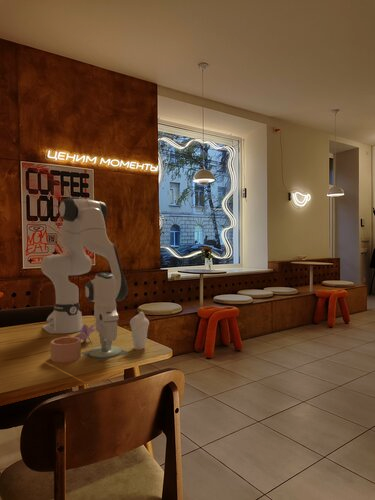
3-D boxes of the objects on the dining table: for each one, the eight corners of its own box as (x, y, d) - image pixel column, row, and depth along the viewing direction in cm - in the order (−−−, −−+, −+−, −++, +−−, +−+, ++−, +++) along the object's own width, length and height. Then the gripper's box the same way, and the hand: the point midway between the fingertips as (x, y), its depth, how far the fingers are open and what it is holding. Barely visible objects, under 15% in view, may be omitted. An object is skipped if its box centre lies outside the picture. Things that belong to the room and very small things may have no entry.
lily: (100, 342, 166) (91, 323, 167) (106, 338, 156) (97, 318, 158) (75, 354, 159) (66, 334, 161) (80, 351, 150) (71, 330, 151)
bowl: (45, 358, 139) (45, 340, 139) (71, 352, 148) (71, 335, 147) (59, 365, 132) (59, 346, 132) (86, 358, 140) (86, 340, 140)
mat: (80, 353, 146) (80, 352, 146) (109, 346, 156) (109, 345, 156) (100, 361, 136) (100, 360, 136) (129, 353, 146) (129, 352, 146)
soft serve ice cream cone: (130, 352, 148) (130, 313, 147) (128, 346, 156) (128, 310, 155) (150, 350, 150) (150, 312, 150) (147, 344, 158) (147, 309, 158)
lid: (82, 352, 146) (82, 341, 145) (109, 345, 155) (109, 334, 155) (100, 360, 137) (100, 347, 137) (127, 352, 146) (127, 340, 146)
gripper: (91, 309, 153) (91, 340, 154) (103, 318, 135) (103, 354, 135) (106, 307, 156) (106, 339, 157) (120, 316, 138) (120, 352, 138)
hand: (105, 346), depth 146 cm, fingers open, 8 cm apart
